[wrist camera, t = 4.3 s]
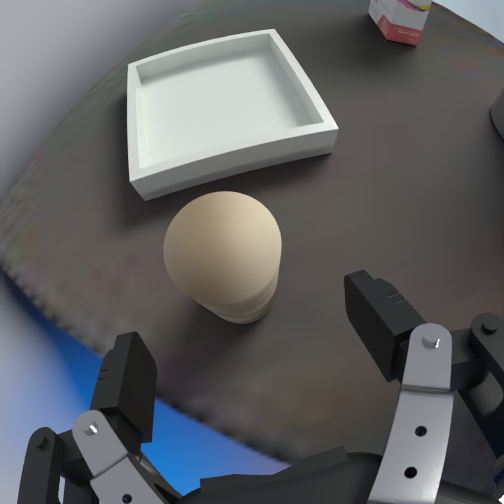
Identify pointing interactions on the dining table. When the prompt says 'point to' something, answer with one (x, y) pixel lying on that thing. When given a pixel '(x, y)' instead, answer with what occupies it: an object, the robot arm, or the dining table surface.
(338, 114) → the dining table surface
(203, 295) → the gauge plug
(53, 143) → the dining table surface
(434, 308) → the dining table surface
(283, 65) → the tray
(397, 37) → the ink cartridge box
